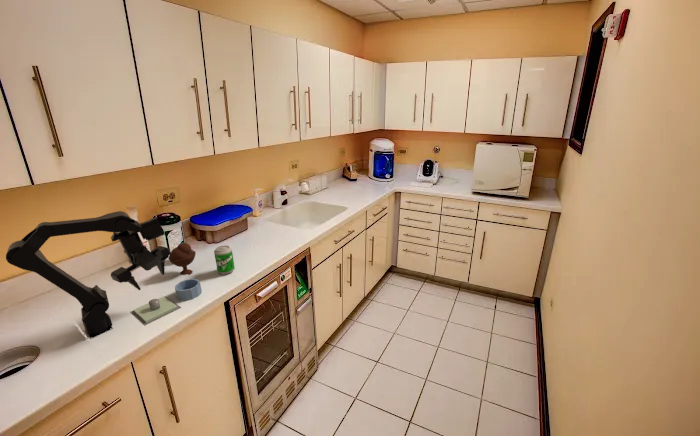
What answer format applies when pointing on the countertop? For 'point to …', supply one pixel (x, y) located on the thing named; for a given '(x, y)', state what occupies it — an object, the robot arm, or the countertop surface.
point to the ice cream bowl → (182, 257)
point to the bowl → (188, 289)
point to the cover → (155, 309)
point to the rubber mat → (156, 318)
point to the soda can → (224, 260)
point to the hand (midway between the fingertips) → (151, 282)
